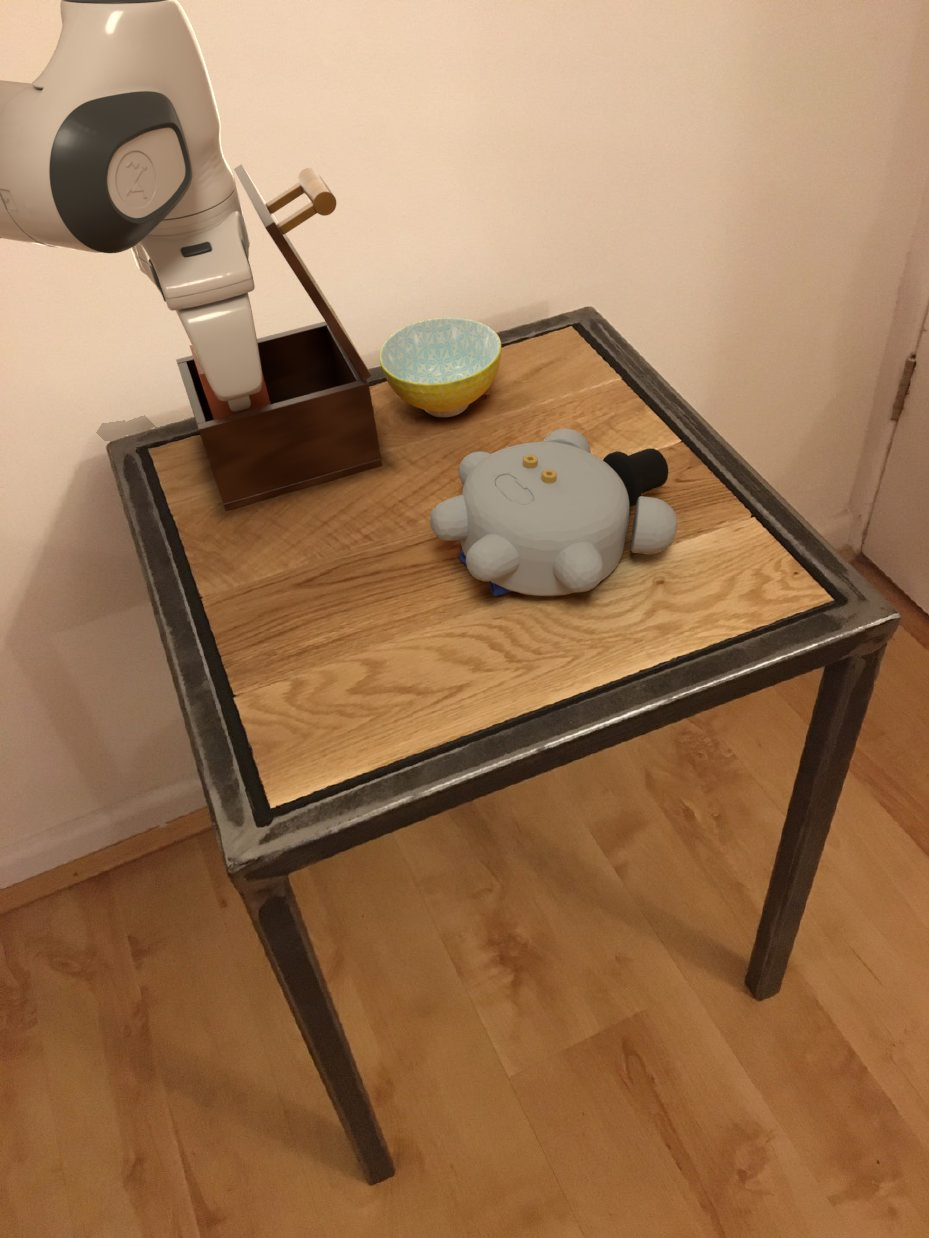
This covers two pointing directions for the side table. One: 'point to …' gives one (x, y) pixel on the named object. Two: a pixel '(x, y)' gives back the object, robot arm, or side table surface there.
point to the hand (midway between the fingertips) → (232, 387)
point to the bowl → (441, 363)
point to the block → (222, 407)
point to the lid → (319, 203)
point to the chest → (290, 420)
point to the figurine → (554, 514)
